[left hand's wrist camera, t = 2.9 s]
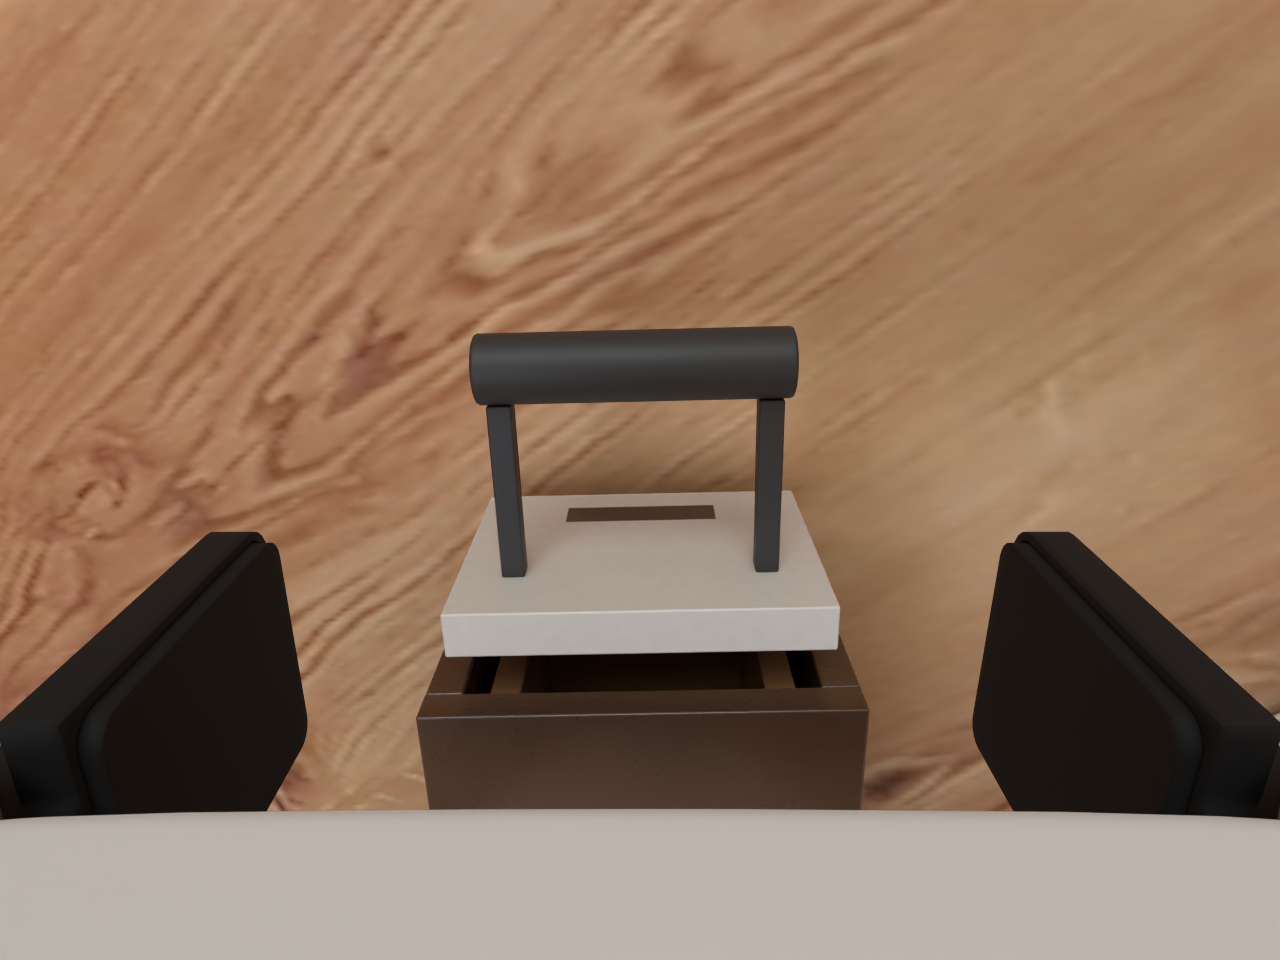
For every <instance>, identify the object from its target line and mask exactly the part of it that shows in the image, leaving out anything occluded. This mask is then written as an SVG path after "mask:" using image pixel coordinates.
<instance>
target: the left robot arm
mask: <svg viewBox="0 0 1280 960" xmlns="http://www.w3.org/2000/svg"><path fill="white" fill-rule="evenodd" d="M306 733H307V713H306V707H305V701H304V695H303V689H302V683H301V677H300V671H299V666H298V660H297V654H296V648H295V642H294V636H293V630H292V624H291V619H290V613H289V607H288V601H287V595H286V589H285V583H284V577H283V572H282V566H281V560H280V555H279V551H278V549H277V547H276V545H274V544H273V543H265V541H264V539H263V537H262V535H260V534H259V533H258V532H211V533H209V534H207V535H206V536H205V537H204V538H202V539H201V540H200V541H199V542H198V543H197V544H196V545H195V546H194V547H192V548H191V549H190V550H189V551H188V552H187V553H186V554H185V555H184V556H183V557H181V558H180V559H179V560H178V561H177V562H176V563H175V564H174V565H173V566H172V567H170V568H169V569H168V570H167V571H166V572H165V573H164V574H163V575H162V576H160V577H159V578H158V579H157V580H156V581H155V582H154V583H153V584H152V585H151V586H149V587H148V588H147V589H146V590H145V591H144V592H143V593H142V594H141V595H140V596H138V597H137V598H136V599H135V600H134V601H133V602H132V603H131V604H130V605H128V606H127V607H126V608H125V609H124V610H123V611H122V612H121V613H120V614H119V615H117V616H116V617H115V618H114V619H113V620H112V621H111V622H110V623H109V624H107V625H106V626H105V627H104V628H103V629H102V630H101V631H100V632H99V633H98V634H96V635H95V636H94V637H93V638H92V639H91V640H90V641H89V642H88V643H87V644H85V645H84V646H83V647H82V648H81V649H80V650H79V651H78V652H77V653H75V654H74V655H73V656H72V657H71V658H70V659H69V660H68V661H67V662H66V663H64V664H63V665H62V666H61V667H60V668H59V669H58V670H57V671H56V672H55V673H53V674H52V675H51V676H50V677H49V678H48V679H47V680H46V681H45V682H43V683H42V684H41V685H40V686H39V687H38V688H37V689H36V690H35V691H34V692H32V693H31V694H30V695H29V696H28V697H27V698H26V699H25V700H24V701H23V702H21V703H20V704H19V705H18V706H17V707H16V708H15V709H14V710H13V711H11V712H10V713H9V714H8V715H7V716H6V717H5V718H4V719H3V720H2V721H0V743H1V746H0V960H1280V746H1279V743H1280V721H1278V720H1277V719H1276V718H1275V717H1274V716H1273V715H1272V714H1271V713H1270V712H1269V711H1267V710H1266V709H1265V708H1264V707H1263V706H1262V705H1261V704H1260V703H1259V702H1257V701H1256V700H1255V699H1254V698H1253V697H1252V696H1251V695H1250V694H1249V693H1248V692H1246V691H1245V690H1244V689H1243V688H1242V687H1241V686H1240V685H1239V684H1238V683H1237V682H1235V681H1234V680H1233V679H1232V678H1231V677H1230V676H1229V675H1228V674H1227V673H1225V672H1224V671H1223V670H1222V669H1221V668H1220V667H1219V666H1218V665H1217V664H1216V663H1214V662H1213V661H1212V660H1211V659H1210V658H1209V657H1208V656H1207V655H1206V654H1205V653H1203V652H1202V651H1201V650H1200V649H1199V648H1198V647H1197V646H1196V645H1195V644H1193V643H1192V642H1191V641H1190V640H1189V639H1188V638H1187V637H1186V636H1185V635H1184V634H1182V633H1181V632H1180V631H1179V630H1178V629H1177V628H1176V627H1175V626H1174V625H1173V624H1171V623H1170V622H1169V621H1168V620H1167V619H1166V618H1165V617H1164V616H1163V615H1161V614H1160V613H1159V612H1158V611H1157V610H1156V609H1155V608H1154V607H1153V606H1152V605H1150V604H1149V603H1148V602H1147V601H1146V600H1145V599H1144V598H1143V597H1142V596H1140V595H1139V594H1138V593H1137V592H1136V591H1135V590H1134V589H1133V588H1132V587H1131V586H1129V585H1128V584H1127V583H1126V582H1125V581H1124V580H1123V579H1122V578H1121V577H1120V576H1118V575H1117V574H1116V573H1115V572H1114V571H1113V570H1112V569H1111V568H1110V567H1108V566H1107V565H1106V564H1105V563H1104V562H1103V561H1102V560H1101V559H1100V558H1099V557H1097V556H1096V555H1095V554H1094V553H1093V552H1092V551H1091V550H1090V549H1089V548H1088V547H1086V546H1085V545H1084V544H1083V543H1082V542H1081V541H1080V540H1079V539H1078V538H1076V537H1075V536H1074V535H1073V534H1071V533H1069V532H1022V533H1021V534H1020V535H1018V537H1017V539H1016V541H1015V543H1007V544H1006V545H1004V547H1003V549H1002V551H1001V555H1000V560H999V566H998V572H997V577H996V583H995V589H994V595H993V601H992V607H991V613H990V619H989V624H988V630H987V636H986V642H985V648H984V654H983V660H982V666H981V671H980V677H979V683H978V689H977V695H976V701H975V707H974V713H973V733H974V738H975V742H976V744H977V746H978V749H979V750H980V752H981V754H982V756H983V757H984V759H985V761H986V763H987V765H988V766H989V768H990V770H991V772H992V774H993V775H994V777H995V779H996V781H997V783H998V784H999V786H1000V788H1001V790H1002V792H1003V793H1004V795H1005V797H1006V799H1007V800H1008V802H1009V804H1010V806H1011V808H1012V809H1013V811H900V810H786V809H460V810H370V811H279V812H266V811H267V809H268V808H269V806H270V804H271V802H272V800H273V799H274V797H275V795H276V793H277V792H278V790H279V788H280V786H281V784H282V783H283V781H284V779H285V777H286V775H287V774H288V772H289V770H290V768H291V766H292V765H293V763H294V761H295V759H296V757H297V756H298V754H299V752H300V750H301V749H302V746H303V744H304V742H305V738H306Z"/></svg>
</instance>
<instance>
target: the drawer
mask: <svg viewBox="0 0 1280 960" xmlns="http://www.w3.org/2000/svg"><path fill="white" fill-rule="evenodd" d="M469 372H470V382H471V389H472V393H473V396H474V399H475V401H476V403H477V404H479V405H487V407H486V415H487V425H488V436H489V446H490V457H491V467H492V478H493V488H494V497H491V500H490V502H489V504H488V506H487V509H486V511H485V513H484V516H483V518H482V520H481V523H480V525H479V527H478V530H477V532H476V534H475V537H474V539H473V541H472V543H471V546H470V548H469V550H468V553H467V555H466V557H465V560H464V562H463V564H462V567H461V569H460V571H459V573H458V576H457V578H456V580H455V583H454V585H453V587H452V590H451V592H450V594H449V597H448V599H447V601H446V603H445V606H444V608H443V610H442V613H441V615H440V618H441V626H442V633H443V641H444V649H445V656H446V657H480V656H501V657H500V661H499V664H498V668H497V671H496V675H495V678H494V682H493V686H492V689H491V693H490V694H501V693H555V692H610V691H664V690H718V689H773V688H796V687H795V684H794V680H793V676H792V673H791V669H790V665H789V662H788V658H787V655H786V651H796V650H836V649H837V648H838V637H839V623H840V606H839V603H838V601H837V598H836V596H835V594H834V591H833V589H832V586H831V584H830V582H829V579H828V577H827V575H826V572H825V570H824V567H823V565H822V563H821V560H820V558H819V555H818V553H817V551H816V548H815V546H814V543H813V541H812V539H811V536H810V534H809V532H808V529H807V527H806V524H805V522H804V520H803V517H802V515H801V512H800V510H799V508H798V505H797V503H796V500H795V498H794V496H793V493H792V491H790V490H788V491H782V471H783V444H784V417H785V400H784V399H783V398H791V397H793V396H794V394H795V391H796V388H797V383H798V372H799V352H798V341H797V336H796V332H795V330H794V328H793V327H791V326H770V327H730V328H689V329H649V330H608V331H567V332H527V333H486V334H476V335H474V336H473V338H472V341H471V345H470V353H469ZM725 399H757V424H756V465H755V491H742V492H696V493H651V494H605V495H559V496H522V493H521V481H520V468H519V456H518V444H517V432H516V420H515V408H514V404H554V403H597V402H640V401H683V400H725Z"/></svg>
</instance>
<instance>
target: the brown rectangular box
mask: <svg viewBox="0 0 1280 960" xmlns="http://www.w3.org/2000/svg"><path fill="white" fill-rule="evenodd" d="M786 655H787V658H788V662H789V665H790V669H791V673H792V676H793V680H794V684H795V687H796V688H773V689H718V690H664V691H610V692H555V693H501V694H490V693H491V689H492V686H493V682H494V678H495V675H496V671H497V668H498V664H499V661H500V657H501V656H480V657H446V656H445V649H444V651H443V653H442V656H441V658H440V661H439V663H438V666H437V668H436V671H435V673H434V676H433V678H432V681H431V683H430V686H429V688H428V691H427V694H426V695H425V697H424V700H423V702H422V705H421V707H420V710H419V712H418V715H417V717H416V721H417V728H418V734H419V741H420V748H421V755H422V762H423V769H424V776H425V782H426V789H427V796H428V803H429V810H460V809H786V810H861V802H862V790H863V778H864V767H865V755H866V743H867V732H868V720H869V708H868V706H867V703H866V701H865V698H864V695H863V693H862V690H861V688H860V685H859V683H858V680H857V678H856V675H855V673H854V670H853V668H852V665H851V663H850V660H849V658H848V655H847V652H846V650H845V647H844V645H843V642H842V640H841V637H840V635H839V637H838V648H837V649H836V650H796V651H786Z"/></svg>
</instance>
